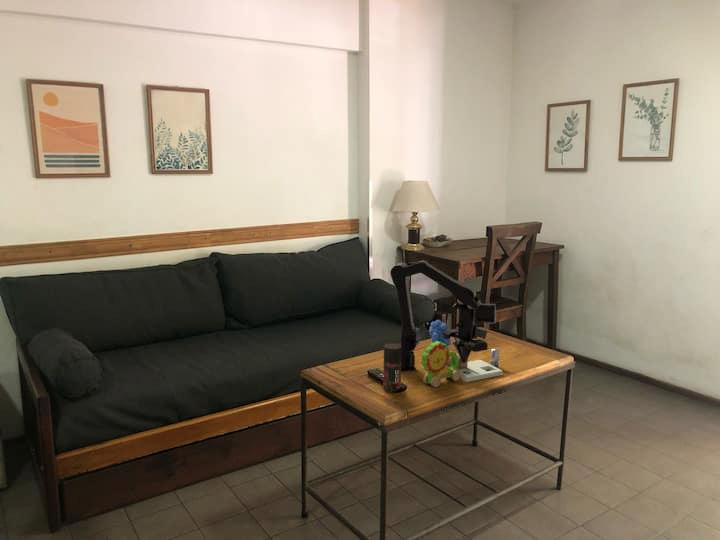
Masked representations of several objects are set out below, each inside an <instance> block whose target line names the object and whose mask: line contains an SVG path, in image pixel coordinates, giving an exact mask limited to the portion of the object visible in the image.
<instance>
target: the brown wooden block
mask: <svg viewBox="0 0 720 540" xmlns="http://www.w3.org/2000/svg"><path fill="white" fill-rule="evenodd" d="M455 353H456V355H457V357H458V369H460V368H465V367H467V364H468V362H469V358H468V359H467V362H466V363H463V362H462V360H461V358H460V356H459V354H458V352H455ZM451 363H452V359H451V357H450V358H449V359H448V360H447V363H446V366H448V367H451Z"/></svg>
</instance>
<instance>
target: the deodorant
mask: <svg viewBox="0 0 720 540" xmlns="http://www.w3.org/2000/svg"><path fill="white" fill-rule="evenodd" d="M399 344H400V343H387V344H384V345H383V374H382V375H383V379H382V381H383V383H382V387H383V388H382V389H383V390H384V391H385V390H386V392H388V391H394V389H396V388H397V387H398V386H400V385H402V372H401V345H399Z"/></svg>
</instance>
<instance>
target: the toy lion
mask: <svg viewBox="0 0 720 540" xmlns="http://www.w3.org/2000/svg"><path fill="white" fill-rule="evenodd" d="M456 353H457V352H454V351H452V350H450V348H449V346H448V347H447V345H446V344H443V343H441V342H438V341H435V342H434V343H433V342H431V343H430V344H429V345H428V346H427V347H426V348H425V349H424V351H423V353H422V355H421V359H422V360H421V365H422V366H423V369H424V371H425V372H427V373H426V374H424V376H423V380H422V381H423V382H424V383H425V384H427V385H429V384H430V385H431V386H432V387H434V388H438V387H440V385H441V380H442V379H445V378H447V379H452V380H453V381H455V382H458V381H459V380H461V379H460V377H461V373H460V371H458V357H457V355H456ZM450 357H451V359H452V363H451V367H447V366H446V363H447V360H448V359H449V358H450Z"/></svg>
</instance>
